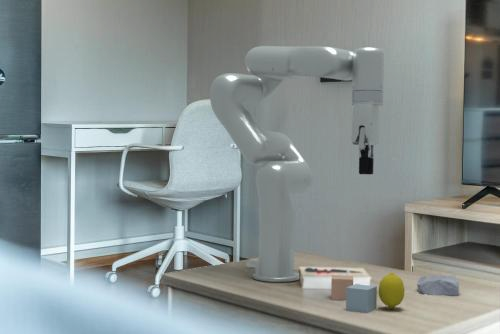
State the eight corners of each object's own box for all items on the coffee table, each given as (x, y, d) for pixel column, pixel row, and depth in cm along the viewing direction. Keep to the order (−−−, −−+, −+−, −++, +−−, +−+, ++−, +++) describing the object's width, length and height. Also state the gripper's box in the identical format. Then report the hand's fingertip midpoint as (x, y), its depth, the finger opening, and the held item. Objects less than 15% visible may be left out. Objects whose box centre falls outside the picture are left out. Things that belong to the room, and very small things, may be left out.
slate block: (346, 310, 160) (346, 287, 160) (355, 306, 165) (355, 284, 164) (367, 313, 158) (367, 290, 158) (376, 309, 162) (376, 286, 162)
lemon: (388, 312, 158) (388, 275, 158) (373, 307, 163) (374, 271, 163) (409, 310, 160) (409, 273, 160) (394, 305, 165) (395, 269, 165)
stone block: (420, 303, 178) (462, 296, 176) (416, 283, 178) (458, 276, 176) (418, 295, 190) (457, 289, 188) (414, 276, 190) (454, 270, 188)
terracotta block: (331, 300, 171) (331, 278, 171) (331, 296, 176) (331, 275, 176) (353, 301, 170) (353, 279, 170) (352, 296, 175) (353, 275, 175)
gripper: (359, 101, 188) (358, 172, 189) (344, 97, 174) (343, 174, 175) (389, 100, 185) (387, 173, 186) (375, 96, 171) (374, 175, 172)
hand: (366, 174), depth 180 cm, fingers closed
